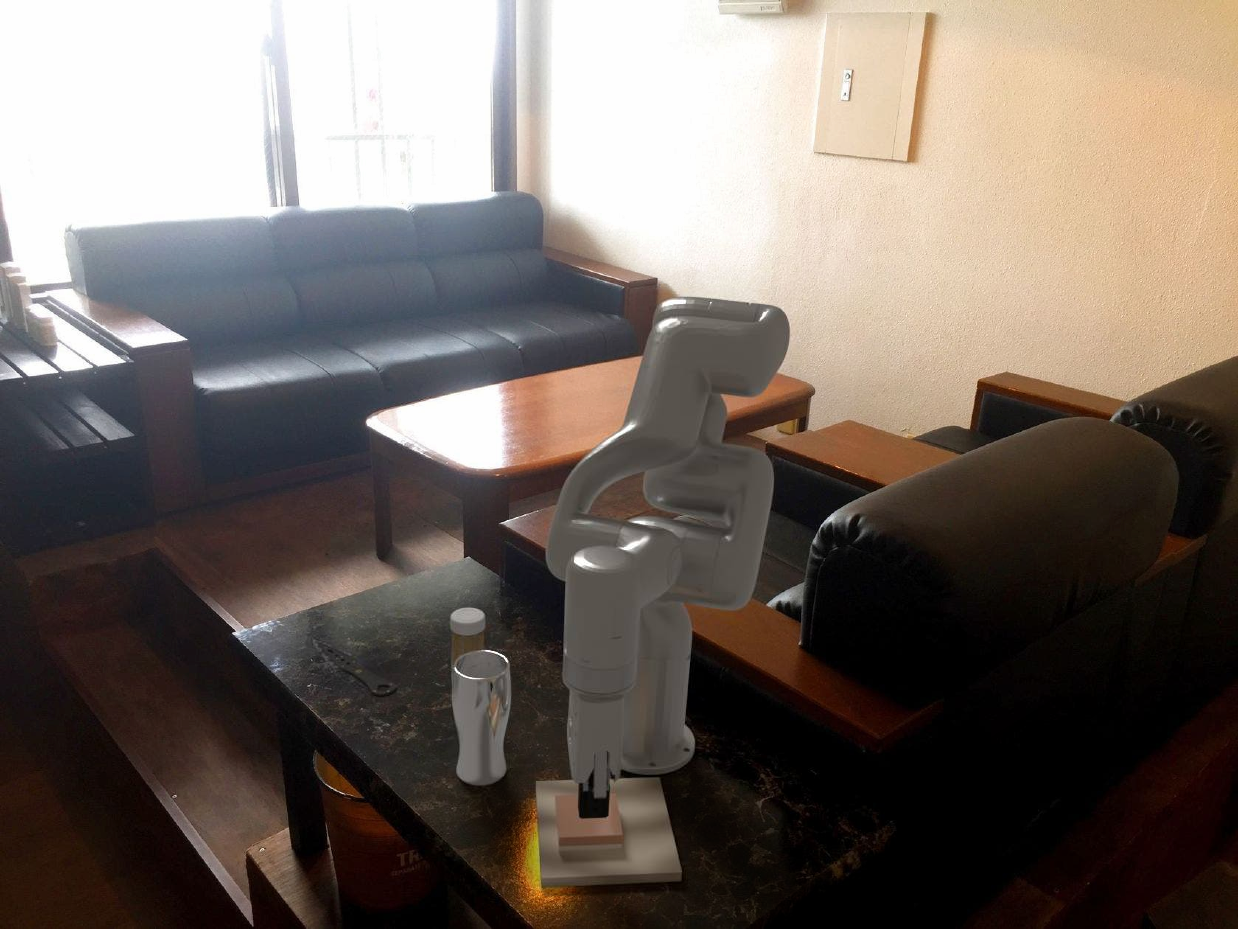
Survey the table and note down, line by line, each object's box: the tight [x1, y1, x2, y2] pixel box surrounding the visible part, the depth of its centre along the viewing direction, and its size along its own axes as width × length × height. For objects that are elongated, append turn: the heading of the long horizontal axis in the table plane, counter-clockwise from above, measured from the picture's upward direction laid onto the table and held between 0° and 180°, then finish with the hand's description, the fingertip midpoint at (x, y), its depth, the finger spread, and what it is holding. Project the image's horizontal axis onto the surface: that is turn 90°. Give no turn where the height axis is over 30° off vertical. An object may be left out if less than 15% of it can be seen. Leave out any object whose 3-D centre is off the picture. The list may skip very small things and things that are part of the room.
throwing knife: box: [311, 638, 397, 697], centre depth 146 cm, size 4×20×1 cm, turn 47°
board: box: [535, 776, 683, 888], centre depth 116 cm, size 16×15×1 cm
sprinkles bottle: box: [449, 607, 486, 703], centre depth 137 cm, size 5×5×13 cm
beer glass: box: [451, 649, 512, 787], centre depth 123 cm, size 7×7×15 cm
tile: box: [555, 794, 623, 851], centre depth 115 cm, size 2×7×7 cm
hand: (593, 813), depth 110 cm, fingers closed
